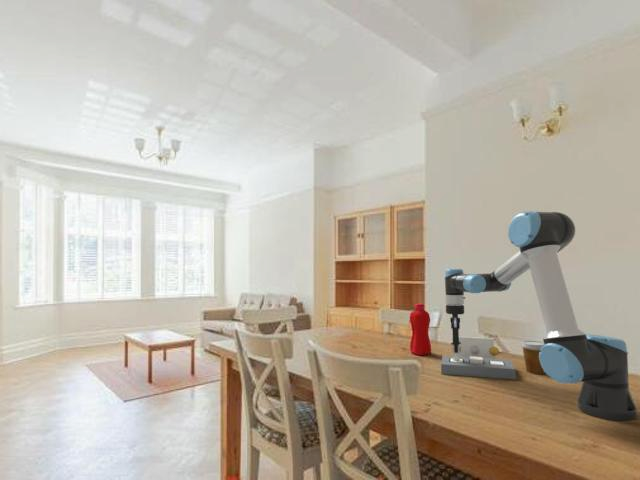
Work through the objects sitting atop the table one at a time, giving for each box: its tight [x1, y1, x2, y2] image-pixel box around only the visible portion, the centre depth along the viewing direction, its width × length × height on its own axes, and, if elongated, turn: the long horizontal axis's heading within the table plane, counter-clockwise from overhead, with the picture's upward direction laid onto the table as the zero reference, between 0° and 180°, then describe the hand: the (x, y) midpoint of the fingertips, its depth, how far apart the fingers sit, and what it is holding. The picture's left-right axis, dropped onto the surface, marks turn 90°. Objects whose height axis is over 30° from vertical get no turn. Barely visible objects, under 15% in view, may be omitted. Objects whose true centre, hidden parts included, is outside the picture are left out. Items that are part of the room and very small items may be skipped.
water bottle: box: [408, 303, 432, 356], centre depth 204 cm, size 9×11×25 cm
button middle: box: [470, 356, 483, 364], centre depth 171 cm, size 5×5×3 cm
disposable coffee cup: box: [521, 340, 545, 375], centre depth 169 cm, size 10×10×12 cm
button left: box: [450, 358, 463, 363], centre depth 173 cm, size 5×5×3 cm
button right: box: [490, 361, 504, 365], centre depth 168 cm, size 5×5×3 cm
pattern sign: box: [451, 336, 500, 359], centre depth 186 cm, size 6×20×12 cm, turn 71°
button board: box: [440, 354, 517, 381], centre depth 171 cm, size 16×28×4 cm, turn 71°
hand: (456, 359), depth 173 cm, fingers closed
